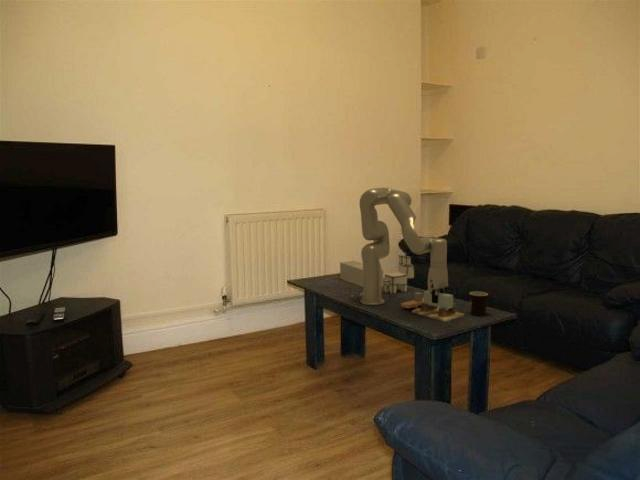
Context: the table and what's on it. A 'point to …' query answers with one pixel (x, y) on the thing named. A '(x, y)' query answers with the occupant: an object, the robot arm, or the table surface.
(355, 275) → the grey rectangular block
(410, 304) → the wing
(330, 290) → the table surface
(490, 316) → the table surface
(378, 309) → the table surface
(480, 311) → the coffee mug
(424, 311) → the jig
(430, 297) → the pale grey bar
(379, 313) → the table surface
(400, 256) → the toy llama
